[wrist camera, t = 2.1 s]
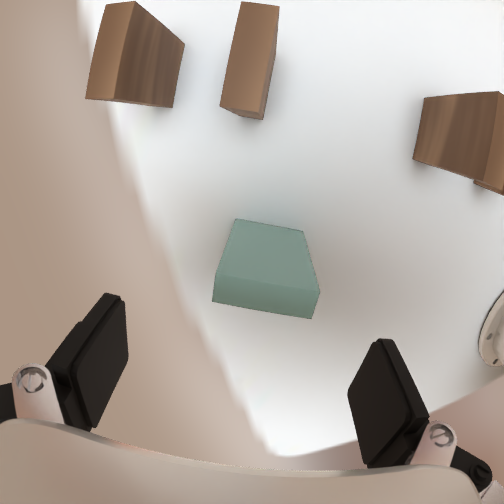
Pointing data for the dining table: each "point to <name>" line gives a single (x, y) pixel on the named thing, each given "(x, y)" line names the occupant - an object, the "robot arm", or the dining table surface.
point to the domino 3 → (267, 271)
